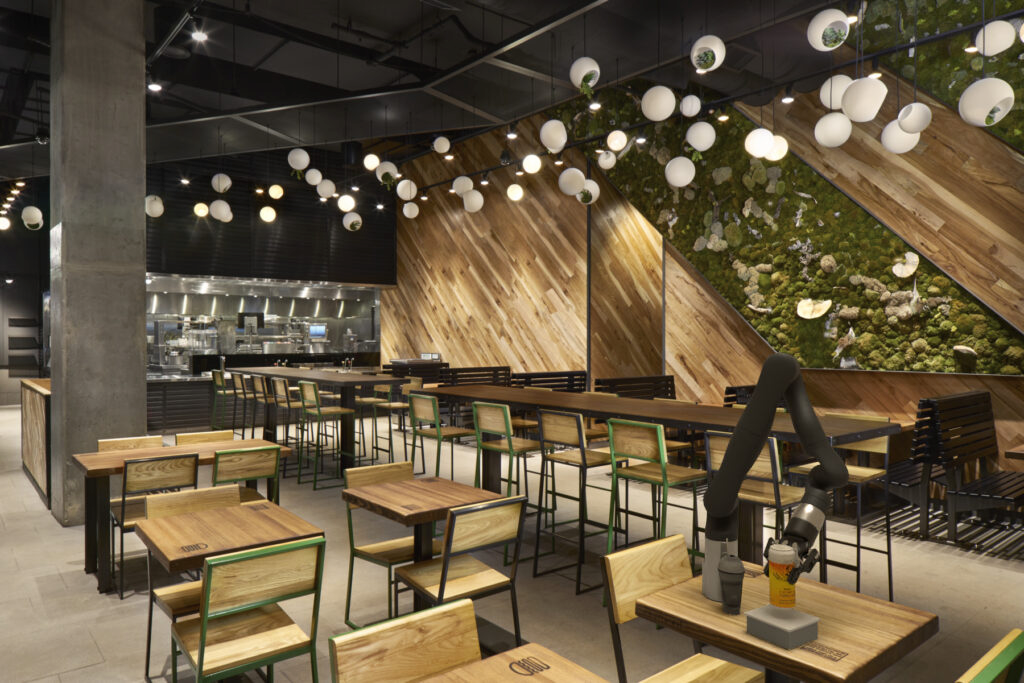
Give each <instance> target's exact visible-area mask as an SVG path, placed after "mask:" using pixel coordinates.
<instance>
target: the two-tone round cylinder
mask: <svg viewBox="0 0 1024 683" xmlns="http://www.w3.org/2000/svg"><path fill="white" fill-rule="evenodd" d="M794 562H795V553H794V551H793V548H792V547H790V546H787V545H780V544H776V545H771V546H770V549H769V578H768V580H769V582H768V584H769V585H768V586H769V588H768V589H769V604H771V605H772V607H774V608H775V609H778V610H784V611H789V610H792V609H795V607H796V606H797V605H796V604H797V603H796V583H794V585H790V584H789V583H788V581H787V578H788V576H789V574H790V572H791V570H792V568H795V567H794Z"/></svg>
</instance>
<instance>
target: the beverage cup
mask: <svg viewBox="0 0 1024 683" xmlns="http://www.w3.org/2000/svg"><path fill="white" fill-rule="evenodd" d="M726 543H727V552H728V555H726V556H724V557H722V558H721V560H720V561H719V564H718V573H719V577H720V587H721V598H722V602H721V606H722V612H723V613H724V614H726V613H727V614H726V615H729V614H731V615H730V616H738V615H740V614H741V606H742V596H743V586H744V584H743V583H744V579H745V578H744V577H745V573H746V571H745V565H744V563H743V560H741V559H740V558H739V557H737V556H734V555H730V553H729V545H728V538H726ZM737 614H738V615H737Z"/></svg>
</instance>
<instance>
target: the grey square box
mask: <svg viewBox="0 0 1024 683" xmlns="http://www.w3.org/2000/svg"><path fill="white" fill-rule="evenodd" d="M743 615H744V616H746V633H748V634H749V635H751V636H755V637H756V638H759V639H762V640H763V641H766V642H768V643H771V644H772V645H775V644H776V646H778V647H780V646H781V647H780V648H783V649H785V648H786V649H785V650H787V649H791V650H793V649H796V648H798V647H800V645H801V646H803V645H806V644H808V643H810V642H813V641H815V640H818V639H819V631H818V630H819V626H818V625H819V624H818V622H820V621H821V620H822V619H821V618H820V617H818V616H815V615H812V614H809V613H805V612H803V611H800V610H797V609H795V608H793V609H792V610H789V611H784V610H778V609H775V608H774V607H772V605H771V604H770V603H768V604H765V605H762V606H761V607H756V608H753V609H751V610H748V611H745V612H743ZM812 640H813V641H812ZM805 643H806V644H805ZM802 644H803V645H802ZM795 647H796V648H795ZM792 648H793V649H792Z"/></svg>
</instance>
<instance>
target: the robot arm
mask: <svg viewBox="0 0 1024 683" xmlns="http://www.w3.org/2000/svg"><path fill="white" fill-rule="evenodd" d="M782 397H783V399H784V401H785V403H786V407H787V409H788V410H787V411H788V413H789V416H790V419H791V423H792V426H793V430H794V433H795V435H796V437H797V440H798V441H799V442H798V443H799V444H800V447H801V448H802V451H803V453H804V454H805V456H807V457H808V458H813V459H816V461H817V462H818V463H819V464H816V465H815V466H813V467H812V468H811V469H810V470H809V472H808V475H807V476H806V481H805V488H804V494H802V496H801V498H800V501H799V503H798V504H797V506H796V507H795V509H794V510H793V512H792V514H791V516H790V518H789V520H788V523H787V524H786V526H785V528H784V530H783V534H782V537H781V538H780V539H774V538H773V537H772V536H770V537H768V538H767V543H766V545H765V547H764V551H763V553H762V556H763V558H764V559H765V560H766V561H767V562H766V563H765V565H764V568H763V574H764V575H765V577H766V578H768V579H769V549H770V546H771V545H776V544H780V545H787V546H790V547H792V548H793V551H794V553H795V562H794V567H795V568H792V570H791V572H790V574H789V576H788V578H787V581H788V583H789V584H790V585H794V583H795V584H796V583H797V582H798V581H799V578H800V576H801V574H803V573H807V574H810V573H811V572H812V570H813V569H814V568H815V566H816V564H817V563H818V562H819V560H820V558H821V554H820V552H819V550H817V547H815V548H813V547H814V544H815V542H816V541H817V538H818V536H819V534H820V532H821V530H822V528H823V526H824V522H825V519H826V517H827V514H828V512H829V510H830V509H831V506H832V502H833V500H832V498H831V496H830V494H829V493H828V492H829V491H830V490H834V489H840V488H843V487H846V486H847V484H848V483H849V481H850V473H849V472H850V471H849V469H848V467H847V465H846V463H845V462H844V460H843V459H842V457H841V456H840V455H839V454H838V453H837V451H836V450H835V449H834V448H833V446H831V444H830V442H829V439H828V437H827V434H826V433H825V430H824V428H823V425H822V424H821V422H820V420H819V417H818V415H817V413H816V411H815V410H814V406H813V405H812V402H811V400H810V397H809V395H808V392H807V389H806V386H805V384H804V380H803V375H802V371H801V365H800V362H799V361H798V360H797V358H796V357H795V356H793V355H791V354H789V353H786V352H775V353H772V354H771V355H769V356H768V357H766V359H765V361H764V362H763V364H762V367H761V370H760V373H759V377H758V378H757V382H756V386H755V388H754V390H753V392H752V395H751V398H750V399H748V402H747V404H746V405H745V407H744V409H743V411H742V413H741V415H740V417H739V419H738V421H737V422H736V425H735V427H734V429H733V432H732V434H731V436H730V439H729V441H728V443H727V446H726V449H725V452H724V455H723V458H722V461H721V464H720V465H719V468H718V470H717V472H716V474H715V475H714V477H713V479H712V480H711V483H709V485H708V487H707V488H706V490H705V491H704V493H703V497H702V502H703V503H702V504H703V507H704V509H705V511H706V520H705V527H704V560H703V561H702V563H701V576H702V578H701V579H702V580H701V585H702V588H701V590H702V591H701V592H702V593H701V594H702V595H704V596H705V597H706V598H707V599H709V600H711V601H715V602H720V603H722V598H721V587H720V577H719V573H718V564H719V561H720V560H721V558H722V557H724V556H726V555H728V552H727V543H726V538H728V545H729V553H730V555H734V556H737V557H738V556H739V555H738V552H739V551H738V549H739V548H738V547H739V546H738V540H739V539H738V538H739V537H738V533H739V524H740V521H739V518H740V517H739V516H740V514H739V513H740V512H739V511H740V499H739V493H740V490H741V487H742V485H743V483H744V480H745V478H746V477H747V475H748V473H749V472H750V470H751V469H752V468H753V466H754V465H755V463H756V461H757V460H758V458H759V457H760V455H761V453H762V452H763V450H764V448H765V445H766V443H767V441H768V439H769V438H770V434H771V431H772V429H773V426H774V425H773V424H774V421H775V418H776V413H777V410H778V406H779V403H780V401H781V400H782ZM806 556H807V557H806ZM804 557H806V558H805V560H804ZM738 558H739V557H738Z"/></svg>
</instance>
